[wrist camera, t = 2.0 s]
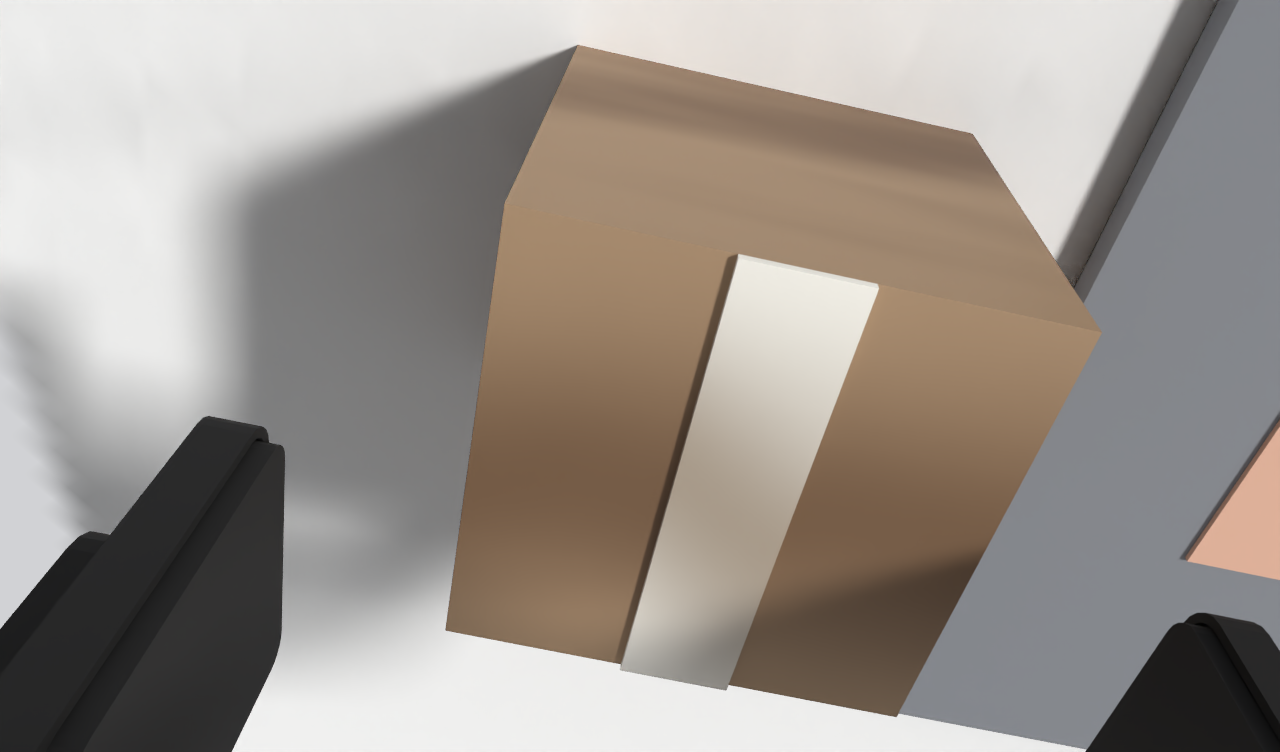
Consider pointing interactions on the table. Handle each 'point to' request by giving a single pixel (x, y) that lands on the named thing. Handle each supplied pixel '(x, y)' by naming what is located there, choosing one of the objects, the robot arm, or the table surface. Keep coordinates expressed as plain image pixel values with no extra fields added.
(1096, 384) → the arena
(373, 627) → the table surface
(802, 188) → the brown cardboard box
